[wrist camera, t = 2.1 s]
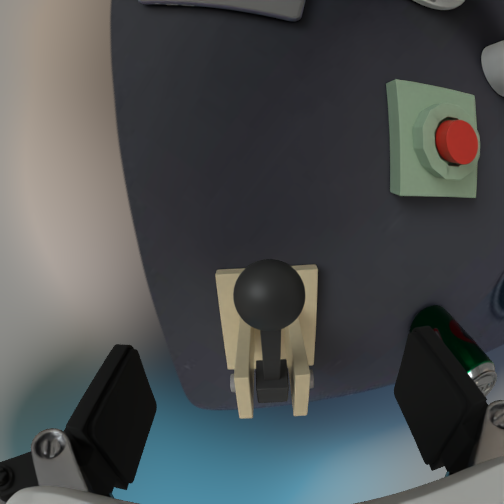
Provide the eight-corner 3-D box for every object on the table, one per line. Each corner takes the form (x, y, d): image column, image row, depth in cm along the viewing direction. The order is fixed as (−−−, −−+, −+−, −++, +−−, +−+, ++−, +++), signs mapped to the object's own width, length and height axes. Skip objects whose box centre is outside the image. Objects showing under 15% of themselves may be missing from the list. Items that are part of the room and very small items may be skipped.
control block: (385, 83, 22) (405, 75, 18) (461, 97, 21) (485, 93, 17) (389, 192, 25) (409, 200, 21) (463, 193, 25) (487, 201, 21)
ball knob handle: (230, 246, 14) (227, 302, 12) (302, 242, 14) (313, 297, 12) (250, 370, 23) (250, 409, 21) (292, 368, 23) (295, 406, 20)
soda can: (410, 307, 29) (465, 379, 18) (447, 298, 28) (507, 360, 17) (405, 344, 30) (449, 418, 19) (440, 334, 30) (489, 400, 19)
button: (434, 118, 19) (445, 117, 18) (465, 123, 19) (477, 123, 17) (435, 161, 20) (446, 162, 19) (466, 164, 20) (478, 166, 19)
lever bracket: (216, 269, 28) (195, 338, 18) (315, 264, 27) (345, 330, 17) (228, 362, 31) (218, 441, 21) (312, 358, 31) (328, 436, 21)
